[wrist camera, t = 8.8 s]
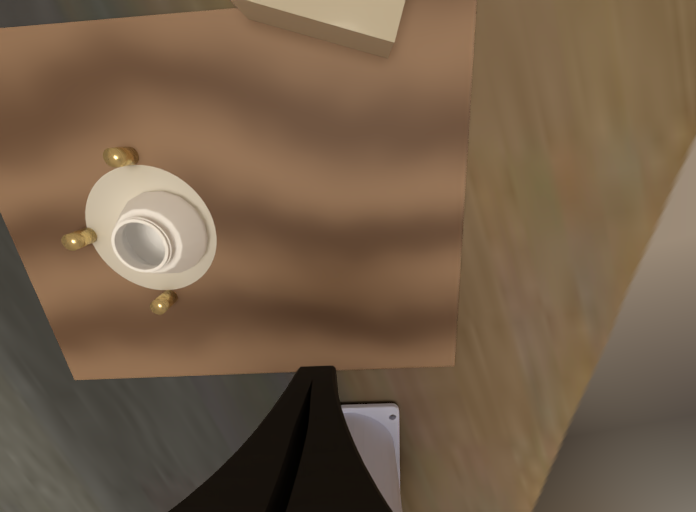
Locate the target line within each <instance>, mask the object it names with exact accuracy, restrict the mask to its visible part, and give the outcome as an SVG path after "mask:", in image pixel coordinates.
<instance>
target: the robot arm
mask: <svg viewBox="0 0 696 512" xmlns="http://www.w3.org/2000/svg"><path fill="white" fill-rule="evenodd" d="M390 415H393V416H390ZM169 512H402V504H401V496H400V440H399V408H398V406H397V405H396V404H394V403H384V404H353V405H341V404H340V400H339V397H338V387H337V376H336V368H335V367H334V366H333V365H330V366H303V367H300V368H299V369H298V370H297V372H296V374H295V375H294V377H293V379H292V380H291V382H290V383H289V385H288V387H287V388H286V390H285V391H284V393H283V394H282V396H281V397H280V398H279V400H278V401H277V403H276V404H275V406H274V407H273V408H272V410H271V411H270V412H269V414H268V415H267V416H266V418H265V419H264V420H263V421H262V423H261V424H260V425H259V426H258V428H257V429H256V430H255V431H254V433H253V434H252V435H251V436H250V437H249V438H248V440H247V441H246V442H245V443H244V444H243V445H242V446H241V447H240V448H239V449H238V451H237V452H236V453H235V454H234V455H233V456H232V457H231V458H230V459H229V460H228V461H227V462H226V463H225V464H224V465H223V466H222V467H221V468H220V469H219V470H217V471H216V472H215V473H214V474H213V475H212V476H211V477H210V478H209V479H208V480H207V481H205V482H204V483H203V484H202V485H201V486H200V487H198V488H197V489H196V490H195V491H194V492H193V493H191V494H190V495H189V496H188V497H187V498H185V499H184V500H183V501H182V502H180V503H179V504H178V505H177V506H175V507H174V508H173V509H171V510H170V511H169Z"/></svg>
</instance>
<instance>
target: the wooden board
mask: <svg viewBox="0 0 696 512" xmlns="http://www.w3.org/2000/svg"><path fill="white" fill-rule="evenodd" d="M476 4H477V0H405V3H404V7H403V11H402V15H401V19H400V23H399V27H398V31H397V35H396V39H395V42H394V45H393V47H392V50H391V52H390V54H389V57H388V59H387V58H384V57H380V56H377V55H373V54H370V53H366V52H363V51H359V50H356V49H352V48H348V47H345V46H341V45H338V44H334V43H331V42H327V41H324V40H320V39H317V38H313V37H310V36H306V35H303V34H299V33H295V32H292V31H288V30H285V29H281V28H278V27H274V26H271V25H267V24H264V23H260V22H257V21H253V20H249V19H247V18H246V16H245V15H244V14H243V13H242V12H241V11H240V10H239V9H238V8H231V9H219V10H208V11H196V12H184V13H173V14H161V15H149V16H138V17H126V18H115V19H103V20H91V21H80V22H68V23H56V24H45V25H33V26H21V27H10V28H0V212H1V214H2V217H3V219H4V221H5V223H6V226H7V228H8V230H9V232H10V235H11V237H12V239H13V241H14V244H15V246H16V248H17V251H18V253H19V255H20V257H21V260H22V262H23V264H24V266H25V269H26V271H27V273H28V275H29V278H30V280H31V282H32V284H33V287H34V289H35V291H36V293H37V296H38V298H39V300H40V303H41V305H42V307H43V309H44V312H45V314H46V316H47V318H48V321H49V323H50V325H51V327H52V330H53V332H54V334H55V336H56V339H57V341H58V343H59V345H60V348H61V350H62V352H63V355H64V357H65V359H66V361H67V364H68V366H69V368H70V370H71V373H72V375H73V377H74V379H75V380H88V379H115V378H142V377H169V376H197V375H224V374H251V373H278V372H297V370H298V369H299V368H300V367H303V366H330V365H333V366H334V367H335V368H336V370H360V369H387V368H414V367H441V366H455V349H456V333H457V316H458V300H459V284H460V267H461V251H462V234H463V218H464V201H465V185H466V169H467V152H468V136H469V119H470V103H471V86H472V70H473V54H474V37H475V21H476ZM153 191H164V192H167V193H171V194H174V195H177V196H180V197H181V198H182V199H184V200H185V201H186V202H188V203H189V204H190V205H192V206H193V207H194V208H195V209H196V211H197V212H198V214H199V215H200V217H201V218H202V220H203V221H204V224H205V228H206V233H207V237H208V240H207V245H206V251H205V254H204V255H203V256H202V258H201V259H200V260H199V262H198V263H197V264H196V265H195V266H194V267H192V268H190V269H188V270H186V271H184V272H182V273H169V274H161V273H150V272H148V273H145V272H139V271H135V270H133V269H131V268H129V267H127V266H126V265H124V264H123V263H122V262H121V261H120V260H119V259H118V257H117V256H116V254H115V252H114V250H113V248H112V243H111V236H112V232H113V229H114V227H115V224H116V222H117V220H118V218H119V215H120V213H121V212H122V210H123V208H124V207H125V205H126V204H127V202H128V201H129V200H131V199H132V198H134V197H136V196H138V195H139V194H141V193H144V192H153Z"/></svg>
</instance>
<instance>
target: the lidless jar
mask: <svg viewBox="0 0 696 512" xmlns="http://www.w3.org/2000/svg"><path fill="white" fill-rule="evenodd" d="M207 240H208V237H207V233H206V228H205V224H204V221H203V220H202V218H201V217H200V215H199V214H198V212H197V211H196V209H195V208H194V207H193V206H192V205H190V204H189V203H188V202H186V201H185V200H184V199H182V198H181V197H180V196H177V195H174V194H171V193H167V192H164V191H153V192H144V193H141V194H139V195H138V196H136V197H134V198H132V199H131V200H129V201H128V202H127V204H126V205H125V207H124V208H123V210H122V212H121V213H120V215H119V218H118V220H117V222H116V224H115V227H114V229H113V232H112V236H111V243H112V248H113V250H114V252H115V254H116V256H117V257H118V259H119V260H120V261H121V262H122V263H123V264H124V265H126V266H127V267H129V268H131V269H133V270H135V271H139V272H145V273H148V272H150V273H161V274H169V273H182V272H184V271H186V270H188V269H190V268H192V267H194V266H195V265H196V264H197V263H198V262H199V260H200V259H201V258H202V256H203V255H204V254H205V251H206V245H207Z"/></svg>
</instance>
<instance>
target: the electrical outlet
mask: <svg viewBox="0 0 696 512" xmlns="http://www.w3.org/2000/svg"><path fill="white" fill-rule="evenodd" d="M230 1H231V2H232V3H233V4H234V5H235V6H236V7H237V8H238V9H239V10H240V11H241V12H242V13H243V14H244V15H245V16H246V18H247V19H249V20H253V21H257V22H260V23H264V24H267V25H271V26H274V27H278V28H281V29H285V30H288V31H292V32H295V33H299V34H303V35H306V36H310V37H313V38H317V39H320V40H324V41H327V42H331V43H334V44H338V45H341V46H345V47H348V48H352V49H356V50H359V51H363V52H366V53H370V54H373V55H377V56H380V57H384V58H387V59H388V57H389V54H390V52H391V50H392V47H393V45H394V42H395V39H396V35H397V31H398V27H399V23H400V19H401V15H402V11H403V7H404V3H405V0H230Z"/></svg>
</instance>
